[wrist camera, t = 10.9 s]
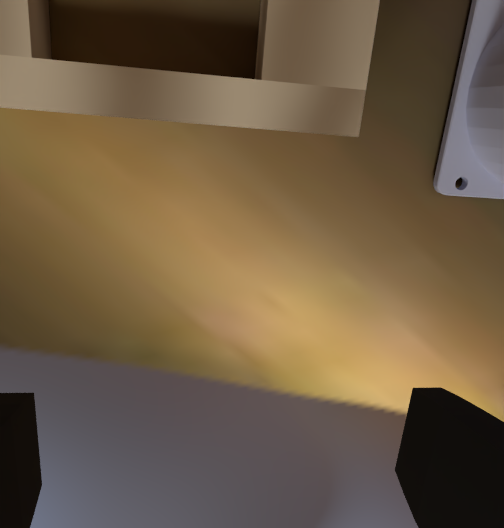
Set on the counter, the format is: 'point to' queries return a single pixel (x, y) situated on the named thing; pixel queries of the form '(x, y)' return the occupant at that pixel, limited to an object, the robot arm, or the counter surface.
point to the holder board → (207, 86)
